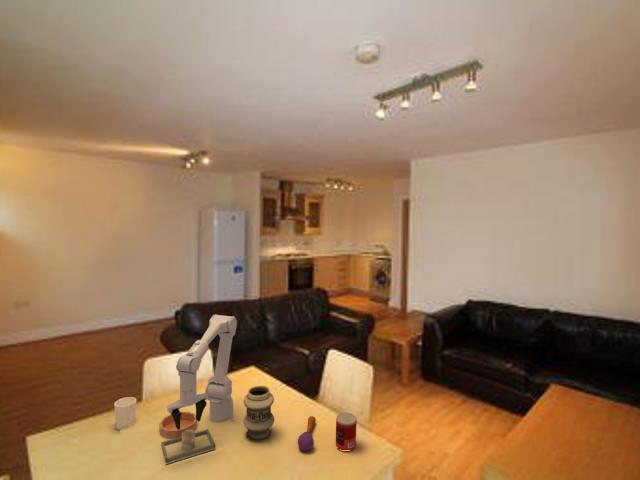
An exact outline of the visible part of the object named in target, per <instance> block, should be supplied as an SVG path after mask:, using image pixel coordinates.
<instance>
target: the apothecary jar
mask: <svg viewBox="0 0 640 480" xmlns="http://www.w3.org/2000/svg"><path fill="white" fill-rule="evenodd" d="M274 401H275V398H274V395H273V394H272V392H271V391H270V388H269V387H267V386H266V385H255V386H252V387H250V388H249V389H248V391H247V394H246V395H245V396H244V397H243V405H244V407H245V408H246V414H245V415H244V417H243V426H244V428H245V429H246V430H247V431H246V433H245V436H246V438H248V439H249V441H251V442H258V443H259V442H263V441H267V440H268V439H269V438H270V437H271V436H272V430H271V429H270V428H272V426H273V425H274V422H275V416H274V414H273V413H272V406H273V404H274Z"/></svg>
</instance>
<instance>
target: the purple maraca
mask: <svg viewBox="0 0 640 480" xmlns="http://www.w3.org/2000/svg"><path fill="white" fill-rule="evenodd" d="M316 422H317V419H316V417H315V416H313V415H311V416H309V417H308V419H307V427H306V428H307V429H306V431H304V432H303V433H301V434H300V435H298V439H297V445H298V448H299V449H300V451H303V452H308V451H311V449H313V446H314V438H313V435H312V433H311V431H312V430H313V428H314V426H315V424H316Z"/></svg>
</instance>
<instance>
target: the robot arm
mask: <svg viewBox="0 0 640 480" xmlns="http://www.w3.org/2000/svg"><path fill="white" fill-rule="evenodd" d="M237 323H238V321H237V319H236V317H235V316H234V315H232V316H230V315H229V316H228V315H222V314H221V315H220V314H216V313H215V314H213V315H212V316H211V318H210V319H209V323H208V327H207V328H206V329H207V330H205V332H204V334H203V335H202V337H201V339H198V340H195V342H194V343H193V344H192V346H191V347H190V348H189V350H188V351H187V353H186V354H184V355H181V356H180V357H179V358H178V360H177V362H176V366H175V369H176V370H177V373H178V376H179V399H178V400H176V401H174V402H173V403H171V404H168V405H167V407H166V409H167V413H169V414H172V416H173V418H174V421H175V425H176V428H177V429H178V430H179V429H180V418H181V414H182V413H181V412H182V411H180V409H182V408H185V407H190V406H194V405H195V415H196V420H197V423H199V422H201V419H202V416H203V413H204V410H205V408H206V406H207V403H208V401H209V420H210V422H212V423H222V422H224V421H227V420H228V419H230V421H231V422H232V421H235V420H234V400H233V397H232V392H233V388H232V387H233V386H232V385H233V384H232V383H233V381H232V380H231V378H229V376H228V370H229V363H230V356H231V350H232V343H233V337H234V336H235V335H236V332H237ZM216 336H219V338H220V339H219V345H218V350H217V355H216V356H217V357H216V362H215V363H216V364H215V368H214V369H215V370H214V375H213V376H211V377H210V378H208V380H207V385H206V387H205V390H204V392H203V393H198V394H197V391H198V390H197V387H198V386H197V385H198V384H197V383H198V382H197V378H198V377H197V376H198V374H197V372H198V371H199V368H200V367H201V363H202V361H203V360H202V359H203V358H204V356H205V355H206V354H207V352H208V351H209V344H210V343H211V342H212V341H213V340H214V339H215V338H216Z"/></svg>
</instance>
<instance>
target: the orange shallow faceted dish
mask: <svg viewBox="0 0 640 480" xmlns="http://www.w3.org/2000/svg"><path fill="white" fill-rule="evenodd" d="M180 412H181V413H182V414H181V418H180V429H179V430H178V429H177V428H176V425H175V421H174V418H173V416H172V414H171V413H169V414H168V415H166V416H164V417H163V418H161V421H160V422H159V429H158V430H159V434H160V436H161V437H163V438H165V439H175V438H178V437H182V433H183V432H184V431H185V430H189V429H191V430H194V431H196V428H197V427H198V421H197V420H196V413H194V412H190V411H180Z"/></svg>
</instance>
